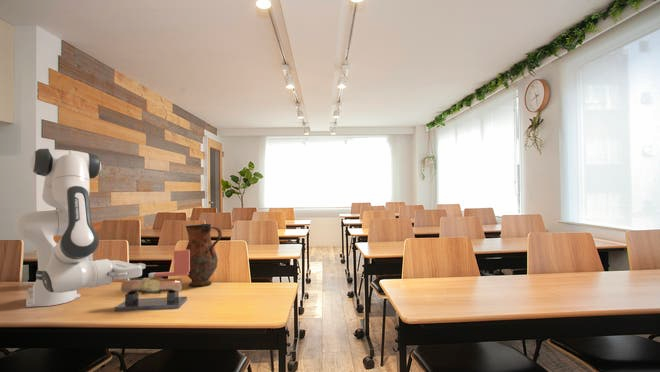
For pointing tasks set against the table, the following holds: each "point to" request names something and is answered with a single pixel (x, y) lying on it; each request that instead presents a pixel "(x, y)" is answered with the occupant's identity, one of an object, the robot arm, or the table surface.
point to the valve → (151, 288)
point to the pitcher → (201, 254)
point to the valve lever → (177, 265)
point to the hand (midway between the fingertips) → (143, 265)
